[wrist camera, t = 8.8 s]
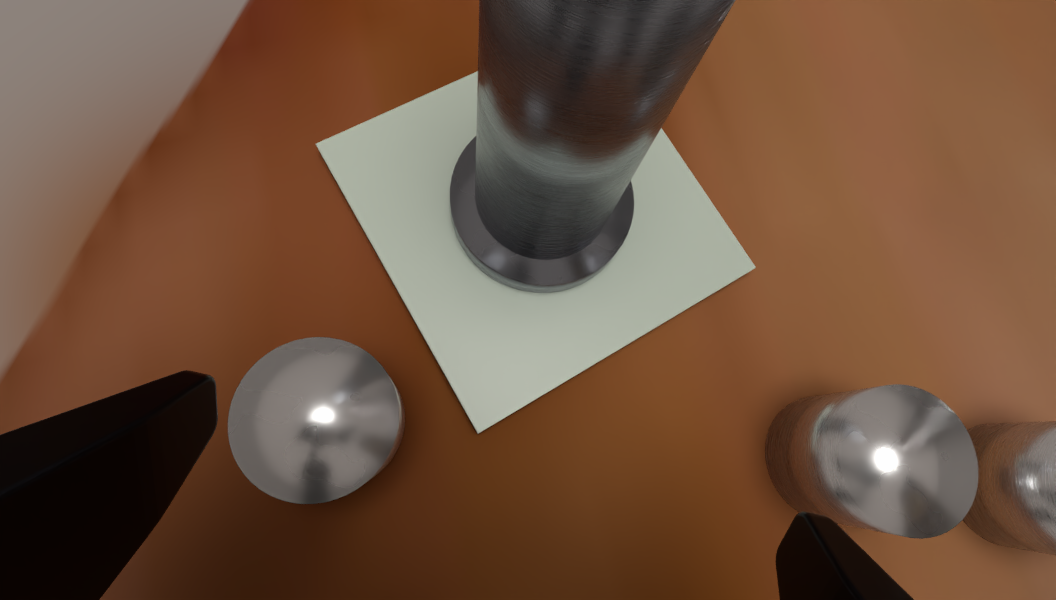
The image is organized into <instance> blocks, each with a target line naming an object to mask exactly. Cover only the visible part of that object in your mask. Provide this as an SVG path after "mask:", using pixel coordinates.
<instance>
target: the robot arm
mask: <svg viewBox="0 0 1056 600" xmlns="http://www.w3.org/2000/svg"><path fill="white" fill-rule="evenodd" d="M217 420H218V414H217V395H216V383H215V380H214V378H213V377H212V376H210V375H207V374H203V373H198V372H194V371H187V370H186V371H181V372H178V373H175V374H172V375H169V376H167V377H164V378H161V379H158V380H155V381H152V382H150V383H147V384H144V385H141V386H138V387H135V388H132V389H130V390H127V391H124V392H121V393H118V394H115V395H112V396H110V397H107V398H104V399H101V400H98V401H95V402H93V403H90V404H87V405H84V406H81V407H78V408H75V409H73V410H70V411H67V412H64V413H61V414H58V415H56V416H53V417H50V418H47V419H44V420H41V421H38V422H36V423H33V424H30V425H27V426H24V427H21V428H18V429H16V430H13V431H10V432H7V433H4V434H1V435H0V600H99V599H100V598H101V597H102V595H103V594H104V593H105V592H106V590H107V589H108V588H109V586H110V585H111V584H112V582H113V581H114V580H115V578H116V577H117V576H118V575H119V573H120V572H121V571H122V569H123V568H124V567H125V565H126V564H127V563H128V562H129V560H130V559H131V558H132V556H133V555H134V554H135V552H136V551H137V550H138V549H139V547H140V546H141V545H142V543H143V542H144V541H145V539H146V538H147V537H148V535H149V534H150V533H151V531H152V530H153V529H154V527H155V526H156V525H157V523H158V522H159V520H160V519H161V517H162V516H163V514H164V513H165V511H166V510H167V508H168V507H169V505H170V503H171V502H172V500H173V499H174V497H175V495H176V494H177V492H178V490H179V489H180V487H181V486H182V484H183V482H184V481H185V479H186V477H187V476H188V474H189V473H190V471H191V469H192V468H193V466H194V464H195V463H196V461H197V460H198V458H199V456H200V455H201V453H202V451H203V450H204V448H205V447H206V445H207V443H208V442H209V440H210V438H211V437H212V435H213V433H214V431H215V429H216V425H217ZM776 570H777V579H778V587H779V596H780V600H914V599H913V598H912V597H911V596H910V595H909V594H908V593H907V592H906V591H905V590H904V589H903V588H901V587H900V586H899V585H898V584H897V583H896V582H895V581H894V580H893V579H892V578H891V577H890V576H889V575H888V574H887V573H886V572H885V571H884V570H883V569H882V568H881V567H880V566H879V565H878V564H877V563H876V562H875V561H874V560H873V559H872V558H871V557H870V556H869V555H868V554H867V553H866V552H865V551H864V550H863V549H862V548H861V547H860V546H859V545H858V544H857V543H856V542H854V541H853V540H852V539H851V538H850V537H849V536H848V535H847V534H846V533H845V532H844V531H843V530H842V529H841V528H840V527H839V526H838V525H837V524H836V523H835V522H834V521H833V520H832V519H831V518H829V517H827V516H824V515H819V514H815V513H811V512H806V511H804V512H800V513H798V514H797V515H796V516H795V518H794V520H793V521H792V523H791V525H790V527H789V529H788V530H787V532H786V534H785V536H784V538H783V539H782V541H781V543H780V545H779V547H778V550H777V553H776Z"/></svg>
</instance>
